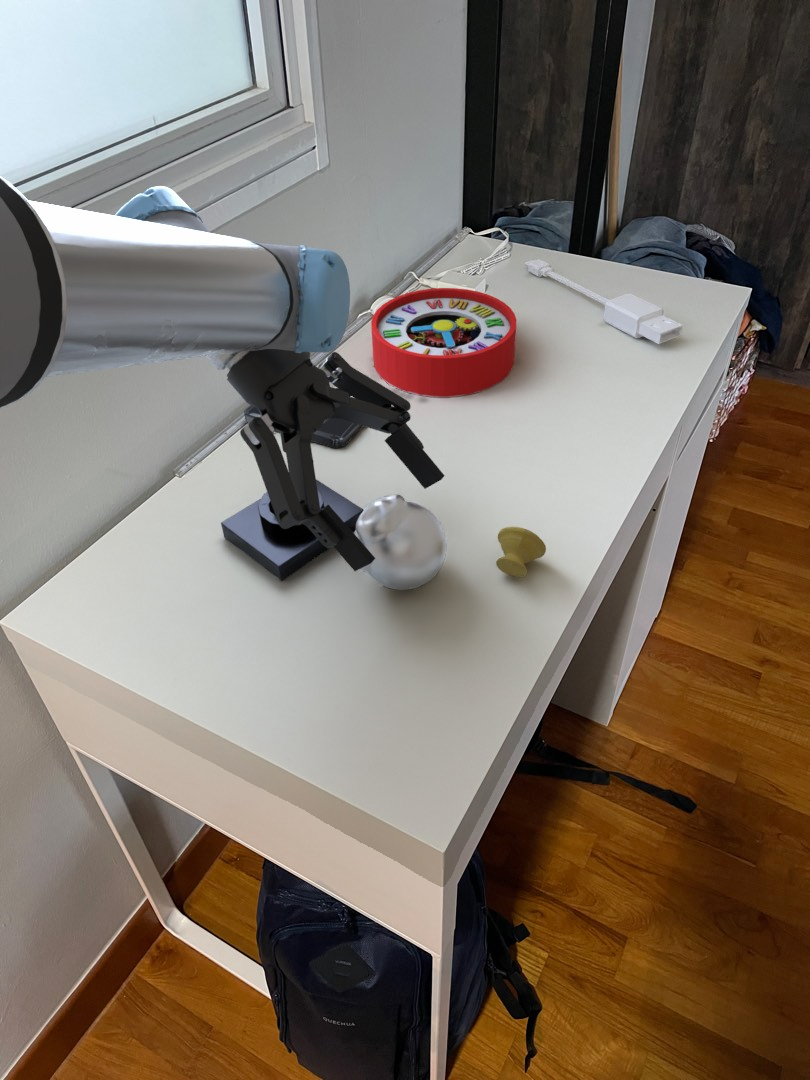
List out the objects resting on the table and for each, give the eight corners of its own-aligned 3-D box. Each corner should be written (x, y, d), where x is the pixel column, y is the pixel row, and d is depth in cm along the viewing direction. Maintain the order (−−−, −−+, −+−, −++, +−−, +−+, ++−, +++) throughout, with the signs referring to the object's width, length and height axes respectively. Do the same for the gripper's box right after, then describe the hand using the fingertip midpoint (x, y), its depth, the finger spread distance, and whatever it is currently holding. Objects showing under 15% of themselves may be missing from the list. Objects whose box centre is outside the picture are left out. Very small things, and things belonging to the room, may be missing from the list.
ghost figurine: (385, 535, 89) (380, 462, 83) (461, 564, 86) (463, 491, 79) (338, 587, 84) (329, 513, 77) (418, 621, 80) (415, 547, 73)
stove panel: (281, 581, 85) (276, 553, 82) (223, 537, 90) (217, 510, 87) (365, 524, 91) (363, 496, 88) (306, 486, 96) (302, 459, 93)
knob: (501, 546, 88) (503, 510, 84) (547, 559, 86) (551, 524, 82) (484, 575, 84) (486, 539, 81) (532, 589, 83) (536, 553, 79)
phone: (340, 442, 100) (240, 413, 106) (340, 450, 101) (241, 420, 106) (371, 409, 105) (274, 383, 111) (372, 417, 106) (275, 390, 111)
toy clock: (497, 281, 121) (533, 349, 106) (496, 318, 125) (530, 388, 110) (363, 295, 119) (380, 365, 104) (365, 331, 123) (383, 404, 108)
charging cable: (539, 268, 139) (541, 249, 136) (681, 340, 117) (685, 318, 115) (516, 276, 137) (516, 256, 135) (655, 350, 115) (659, 328, 113)
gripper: (310, 311, 86) (437, 465, 90) (144, 435, 70) (309, 615, 74) (349, 272, 80) (483, 439, 84) (178, 397, 64) (354, 594, 69)
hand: (402, 521), depth 79 cm, fingers open, 13 cm apart
